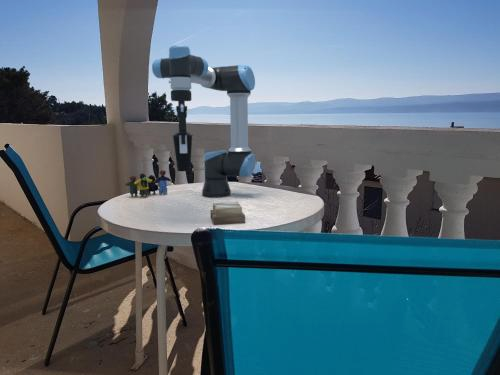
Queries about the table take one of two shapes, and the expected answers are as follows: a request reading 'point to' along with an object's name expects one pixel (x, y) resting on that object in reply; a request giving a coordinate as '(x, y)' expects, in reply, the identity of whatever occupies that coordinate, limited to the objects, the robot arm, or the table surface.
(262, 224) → the table surface
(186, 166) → the drinking cup
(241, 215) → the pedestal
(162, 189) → the doll family
